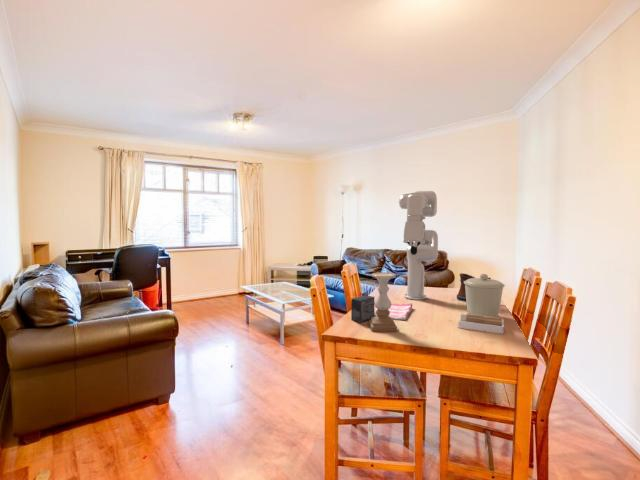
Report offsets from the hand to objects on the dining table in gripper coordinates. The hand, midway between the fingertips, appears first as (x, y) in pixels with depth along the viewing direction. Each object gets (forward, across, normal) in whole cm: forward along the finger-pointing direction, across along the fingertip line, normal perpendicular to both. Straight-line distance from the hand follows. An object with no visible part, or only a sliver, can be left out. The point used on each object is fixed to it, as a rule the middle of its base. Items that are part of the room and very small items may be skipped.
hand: (413, 254), depth 181 cm
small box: (+29, +18, +26) cm, 43 cm away
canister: (+29, -33, -4) cm, 44 cm away
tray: (+29, -32, +13) cm, 46 cm away
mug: (+29, -27, -36) cm, 54 cm away
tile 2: (+29, -37, +13) cm, 49 cm away
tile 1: (+29, -30, +13) cm, 44 cm away
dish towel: (+30, +8, +9) cm, 32 cm away
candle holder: (+29, +6, +34) cm, 45 cm away
